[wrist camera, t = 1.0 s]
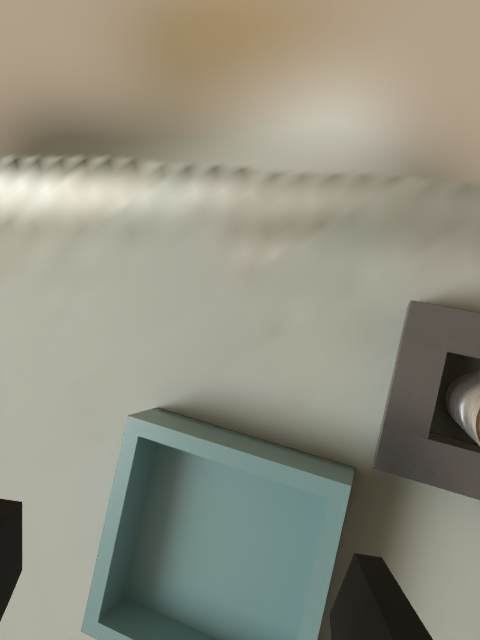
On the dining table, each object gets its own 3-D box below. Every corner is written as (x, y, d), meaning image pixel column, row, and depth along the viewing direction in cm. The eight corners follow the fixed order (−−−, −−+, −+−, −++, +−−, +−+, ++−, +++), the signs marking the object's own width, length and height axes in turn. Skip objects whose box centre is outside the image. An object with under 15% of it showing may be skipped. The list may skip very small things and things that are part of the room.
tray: (355, 467, 22) (351, 486, 19) (306, 688, 22) (295, 738, 19) (156, 407, 25) (127, 415, 22) (114, 599, 25) (80, 631, 23)
